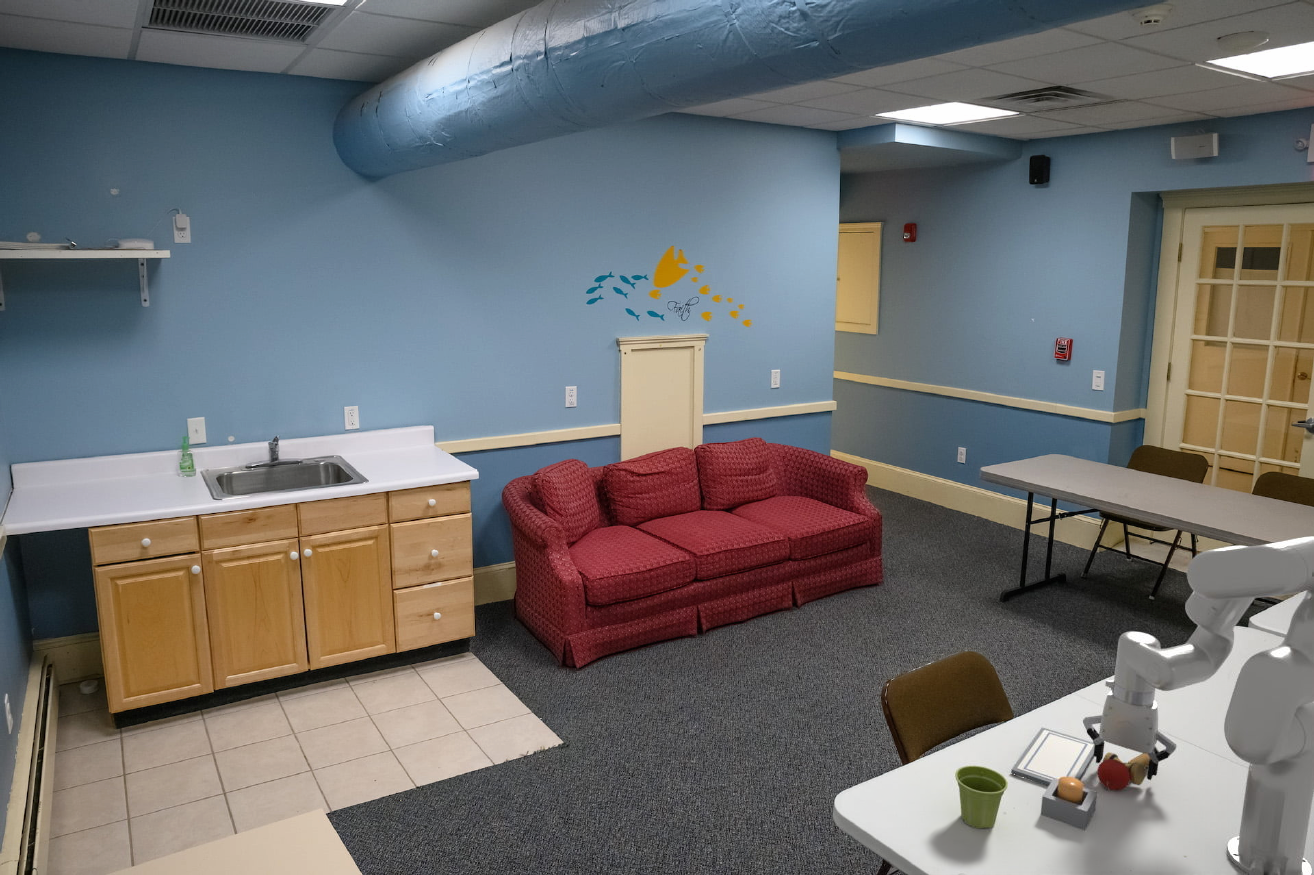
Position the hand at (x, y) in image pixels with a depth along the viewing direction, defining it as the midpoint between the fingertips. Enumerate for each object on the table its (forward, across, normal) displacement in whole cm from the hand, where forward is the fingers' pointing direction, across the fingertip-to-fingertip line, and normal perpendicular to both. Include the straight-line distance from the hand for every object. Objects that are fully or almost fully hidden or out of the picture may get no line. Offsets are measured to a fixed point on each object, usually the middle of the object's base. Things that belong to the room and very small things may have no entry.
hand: (1124, 768), depth 187 cm
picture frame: (+2, -13, -2) cm, 13 cm away
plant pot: (+2, -19, -33) cm, 38 cm away
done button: (-1, -6, -20) cm, 21 cm away
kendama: (+2, +1, 0) cm, 2 cm away
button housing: (+2, -6, -20) cm, 21 cm away
